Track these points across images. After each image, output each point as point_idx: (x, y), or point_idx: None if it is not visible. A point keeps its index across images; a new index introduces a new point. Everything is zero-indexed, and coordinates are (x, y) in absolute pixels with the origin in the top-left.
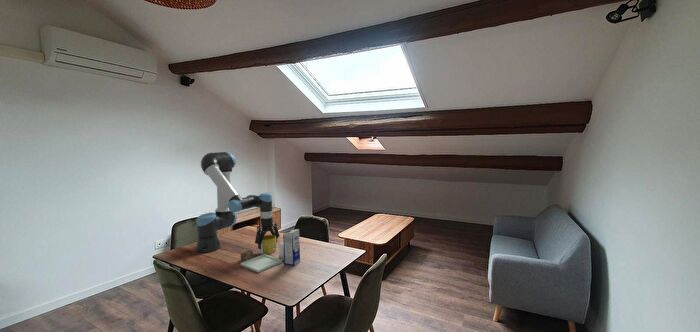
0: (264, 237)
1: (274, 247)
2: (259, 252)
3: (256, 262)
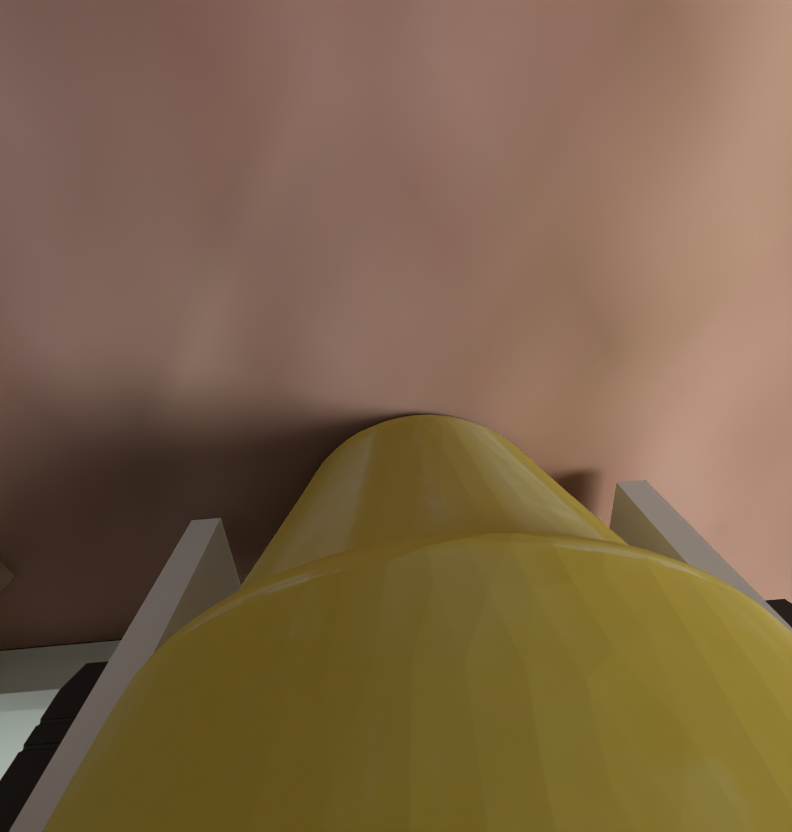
0: (619, 784)
1: (621, 538)
2: (186, 540)
3: (8, 766)
